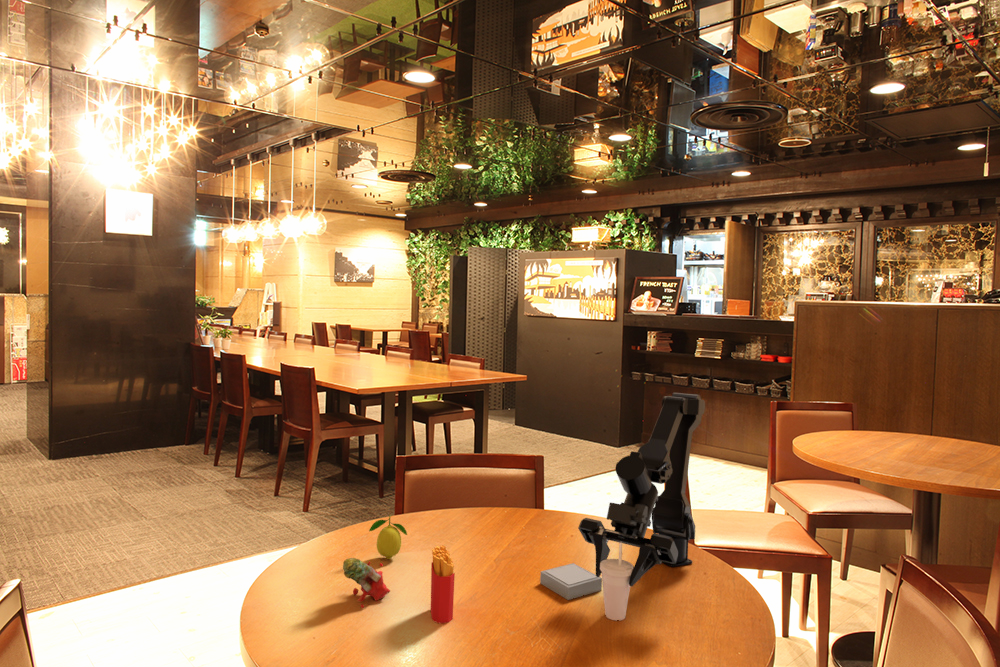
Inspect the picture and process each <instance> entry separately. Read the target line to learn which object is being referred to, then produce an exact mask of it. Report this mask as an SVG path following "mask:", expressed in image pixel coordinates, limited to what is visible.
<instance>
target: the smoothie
mask: <svg viewBox="0 0 1000 667" xmlns="http://www.w3.org/2000/svg"><path fill="white" fill-rule="evenodd" d="M618 545H619V546H618V558H607V559H606V560H603V561H601V563H600V570H601V571H602V573H601V578H602V589H603V590H602V592H603V603H604V605H603V606H604V615H606V616H605V617H606V618H607V619H609V620H612V621H617V620H619V621H623V620H625V619H626V615H627V608H628V602H629V595H630V591H631V590H630V589H631V587H630V585H629V581H630V577H631V574H632V571H633V569H634V566H635V565H634V564H633V563H631V562H629V560H625V559H622V558H623V554H622V553H623V543H622V542H618Z"/></svg>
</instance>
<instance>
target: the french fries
mask: <svg viewBox="0 0 1000 667" xmlns="http://www.w3.org/2000/svg"><path fill="white" fill-rule="evenodd" d="M431 553H432V562H431V569H430V570H431V572H430V574H431V576H430V577H431V578H430V580H431V581H430V616H431V620H432V621H433V622H435V623H436V624H445V623H446V624H447V623H448V624H449V623H450V622H451V621H452V620H454V615H453V614H454V600H455V599H454V597H455V596H454V595H455V578H456V577H455V575H456V574H455V573H456V572H454V568H455V565H454V563H453V562H454V561H453V558H452V557H451V556H450V555H451V553H450V551H449V550H448V549H447V547H446V546H445V545H440V546H438V545H436V546H435V547H434V548H432V549H431Z"/></svg>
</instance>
